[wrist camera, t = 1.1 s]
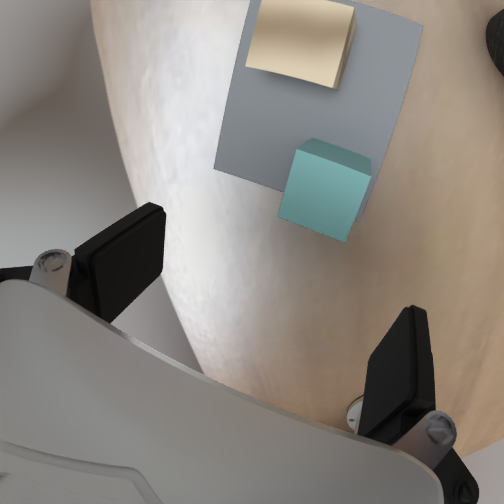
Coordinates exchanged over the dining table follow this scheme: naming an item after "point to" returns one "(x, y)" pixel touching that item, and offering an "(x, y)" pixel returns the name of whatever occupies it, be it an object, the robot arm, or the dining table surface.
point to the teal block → (325, 188)
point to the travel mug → (496, 39)
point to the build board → (318, 102)
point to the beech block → (303, 39)
